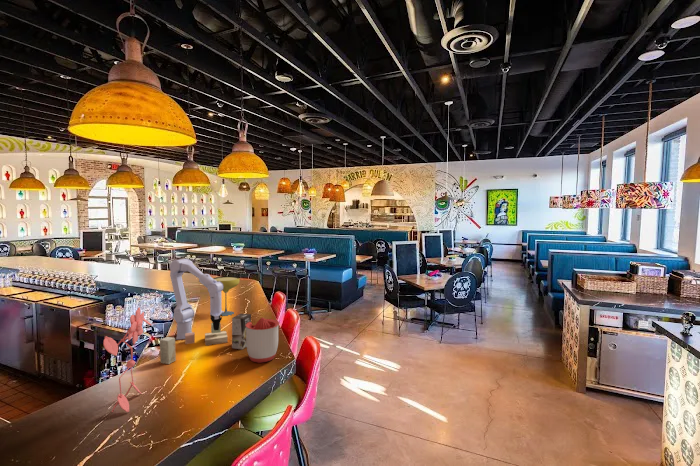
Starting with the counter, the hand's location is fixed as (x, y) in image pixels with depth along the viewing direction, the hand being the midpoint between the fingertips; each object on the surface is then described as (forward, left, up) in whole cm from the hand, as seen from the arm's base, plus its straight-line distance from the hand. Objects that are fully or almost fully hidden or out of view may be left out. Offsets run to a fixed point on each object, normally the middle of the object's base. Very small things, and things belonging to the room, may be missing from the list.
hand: (216, 328), depth 184 cm
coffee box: (+13, +12, -7) cm, 19 cm away
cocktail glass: (-51, +9, -7) cm, 52 cm away
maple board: (0, 0, -7) cm, 7 cm away
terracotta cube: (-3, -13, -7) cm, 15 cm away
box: (+20, -22, -7) cm, 31 cm away
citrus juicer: (+32, +19, -7) cm, 38 cm away
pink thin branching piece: (+55, -29, -7) cm, 63 cm away
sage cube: (0, 0, -2) cm, 2 cm away
